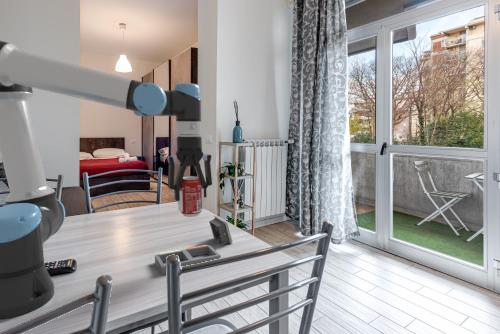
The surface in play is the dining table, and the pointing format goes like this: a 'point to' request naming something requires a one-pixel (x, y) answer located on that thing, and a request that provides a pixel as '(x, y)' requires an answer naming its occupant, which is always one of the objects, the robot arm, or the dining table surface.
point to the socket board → (187, 256)
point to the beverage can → (191, 196)
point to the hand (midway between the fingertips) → (191, 208)
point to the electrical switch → (220, 230)
